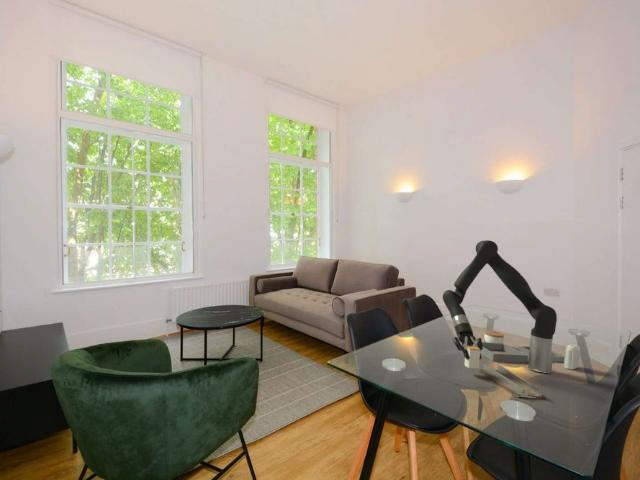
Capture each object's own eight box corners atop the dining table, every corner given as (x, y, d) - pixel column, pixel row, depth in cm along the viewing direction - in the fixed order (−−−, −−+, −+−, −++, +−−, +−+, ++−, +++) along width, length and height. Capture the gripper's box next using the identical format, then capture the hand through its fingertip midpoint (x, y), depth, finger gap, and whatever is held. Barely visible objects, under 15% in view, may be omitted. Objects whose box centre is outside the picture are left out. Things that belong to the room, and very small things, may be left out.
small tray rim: (542, 352, 200) (543, 347, 200) (565, 362, 184) (565, 356, 184) (518, 350, 198) (519, 345, 198) (538, 360, 182) (539, 355, 182)
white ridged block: (570, 364, 180) (572, 342, 180) (579, 367, 177) (581, 344, 176) (562, 367, 174) (564, 344, 174) (571, 370, 171) (574, 347, 171)
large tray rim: (503, 350, 197) (503, 343, 197) (527, 362, 177) (528, 355, 177) (471, 348, 195) (472, 341, 195) (492, 361, 175) (493, 353, 175)
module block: (474, 365, 156) (475, 346, 156) (478, 368, 152) (480, 349, 152) (464, 365, 155) (465, 346, 155) (468, 368, 151) (470, 348, 151)
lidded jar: (485, 346, 201) (486, 331, 201) (482, 341, 212) (483, 327, 211) (504, 349, 198) (506, 334, 198) (500, 344, 208) (501, 329, 208)
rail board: (502, 372, 159) (503, 365, 159) (544, 398, 134) (545, 390, 134) (479, 371, 158) (480, 364, 158) (517, 397, 132) (518, 389, 132)
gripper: (451, 321, 161) (462, 354, 149) (479, 322, 162) (492, 356, 150) (445, 329, 166) (455, 362, 154) (472, 330, 167) (484, 363, 155)
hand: (474, 358), depth 152 cm, fingers closed on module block, 5 cm apart
